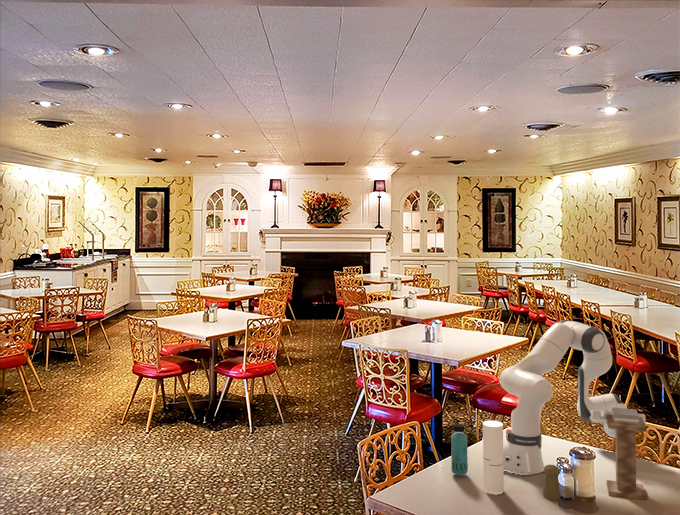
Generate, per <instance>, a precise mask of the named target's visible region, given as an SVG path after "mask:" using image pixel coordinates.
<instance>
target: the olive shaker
mask: <svg viewBox="0 0 680 515" xmlns="http://www.w3.org/2000/svg"><path fill="white" fill-rule="evenodd" d="M543 472H544V474H545V477H544V485H543V492H542V496H543V498H545V499H547V500H550V501H560V500H561V499H560V497H561V498H562V495H561V490H560V482H559V476H560V468H559V467H558V466H557V465H555V464H547V465H544V471H543Z"/></svg>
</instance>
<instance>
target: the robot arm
mask: <svg viewBox="0 0 680 515" xmlns="http://www.w3.org/2000/svg"><path fill="white" fill-rule="evenodd" d="M610 346H611V345H610V343H609V341H608V338H607V335H606V334H605V332H604V331H602V329H598V328H597V327H595V326H590V325H588V324H584V323H583V322H579V321H572V320H570V319H562V320H560V321H558V322H556V323H554V324H552V325H551V326H550V327H549V328H548V329H547V330H546V331H545V332H544V334H543V335H542V336H541V337H540V338H539V340H538V341H537V343H536V344H535V345H534V346H533V348H532V350H531V351H530V352H529V353H528V354H527V355H525V357H523V358H522V359H521V360H520V361H518V362H517V363H516V364H514V365H512V366H510V367H506V368H505V369H503V370H502V371H501V373H500V375H499V385H500V386H501V387H502V389H504V391H506V392H507V393H509V394H511V395H513V396H515V397H518V403H517V406H516V407H515V408H514V409H512V411H511V414H510V418H511V419H510V421H511V422H510V424H511V425H510V426H511V428H506V429H505V440H503V463H504V470H507V471H510V472H513V473H517V474H521V475H520V476H522V475H526V476H525V477H528V476H527V475H529V476H531V475H537V474H540V473H543V472H544V467H545V465H544V461H543V455H542V444H543V441H542V438H543V437H542V433H541V414H542V410H543V407H544V405H545V404H546V403H547V402H549V401H550V399H551V398H552V396H553V392H554V389H553V388H554V387H553V385H552V382H550V381H549V380H548V379H546V378H545V377H544V376H543V375H545V374H547V373H551V372H553V371H554V370H555V369H556V367H557V366H558V365H559V363H560V362H561V361H562V359H563V357H564V356H565V354H566V353H567V351H568V350H569V348H572V349H573V350H577V351H582V354H583V361H582V364H581V365H580V366H578V369H577V400H576V401H577V402H576V410H577V413H578V416H579V418H580V419H581V420H584V421H586V422H592V423H594V424H595V423H596V424H603V430H604V432H605V434H606V435H607V436H609V437H611V438H616V429H609V428H608V425H607V421H606V414H609V415H612V408H617V403H620V404H624V402H622V399H621V398H620V397H619V396H618V395H616V394H614V393H604V394H601V395H595V396H589V386H590V383H591V382H592V381H594V380H595V379H597V378H598V377H600V376H602V375H604V374H606V373H607V372H608V371H609V370H610V369H611V367H612V366H613V354H612V351H611V350H612V349H611V347H610ZM638 415H639V417H642V419H643V421H644V423H645V424H646V415H645V413H638ZM517 474H516V475H517ZM530 474H531V475H530Z"/></svg>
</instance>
